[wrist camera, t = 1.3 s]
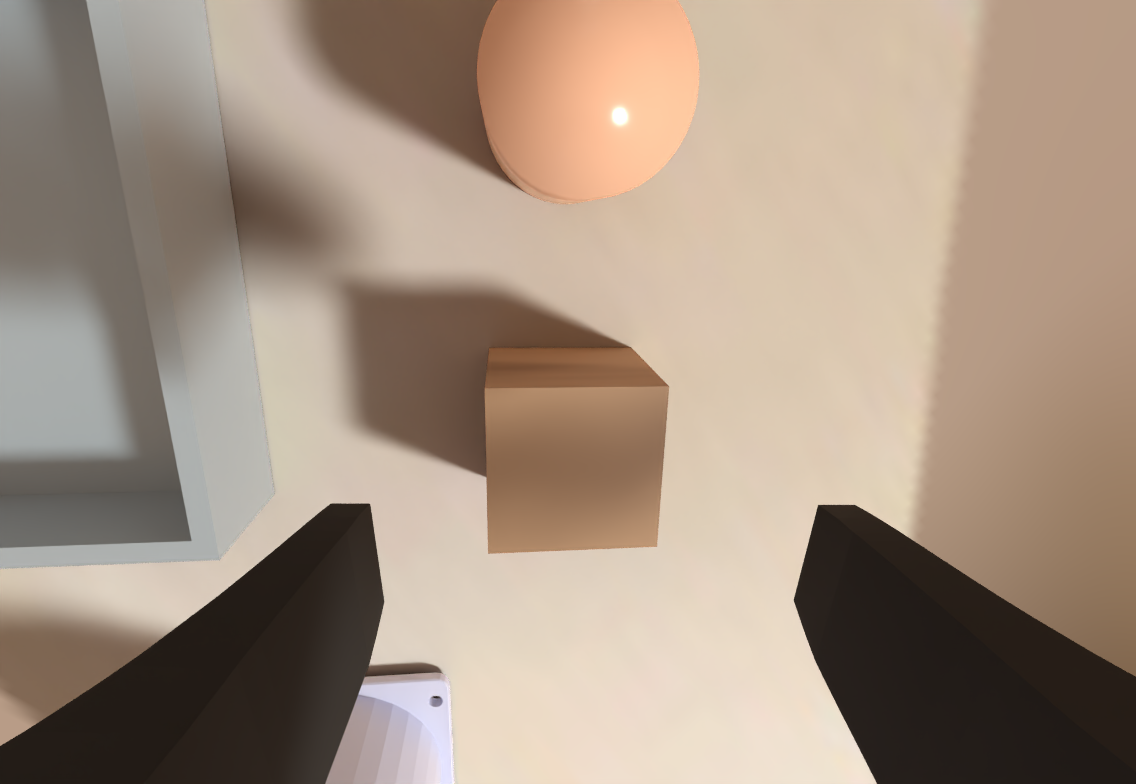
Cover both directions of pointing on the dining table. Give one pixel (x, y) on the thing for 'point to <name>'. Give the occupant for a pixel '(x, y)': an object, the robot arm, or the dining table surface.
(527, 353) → the walnut block
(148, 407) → the tote
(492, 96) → the peach rounded capsule
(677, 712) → the dining table surface
